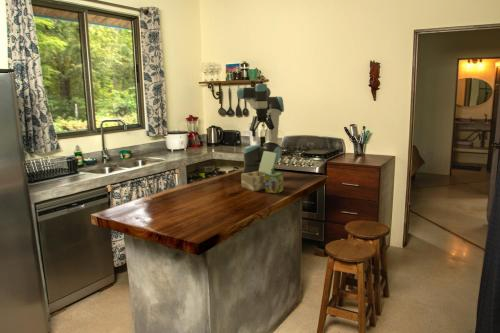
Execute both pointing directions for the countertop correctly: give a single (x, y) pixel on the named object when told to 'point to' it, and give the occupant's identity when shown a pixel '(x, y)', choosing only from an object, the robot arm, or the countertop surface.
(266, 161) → the lid
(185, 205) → the countertop surface
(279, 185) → the chalk box
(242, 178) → the crate
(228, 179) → the countertop surface
